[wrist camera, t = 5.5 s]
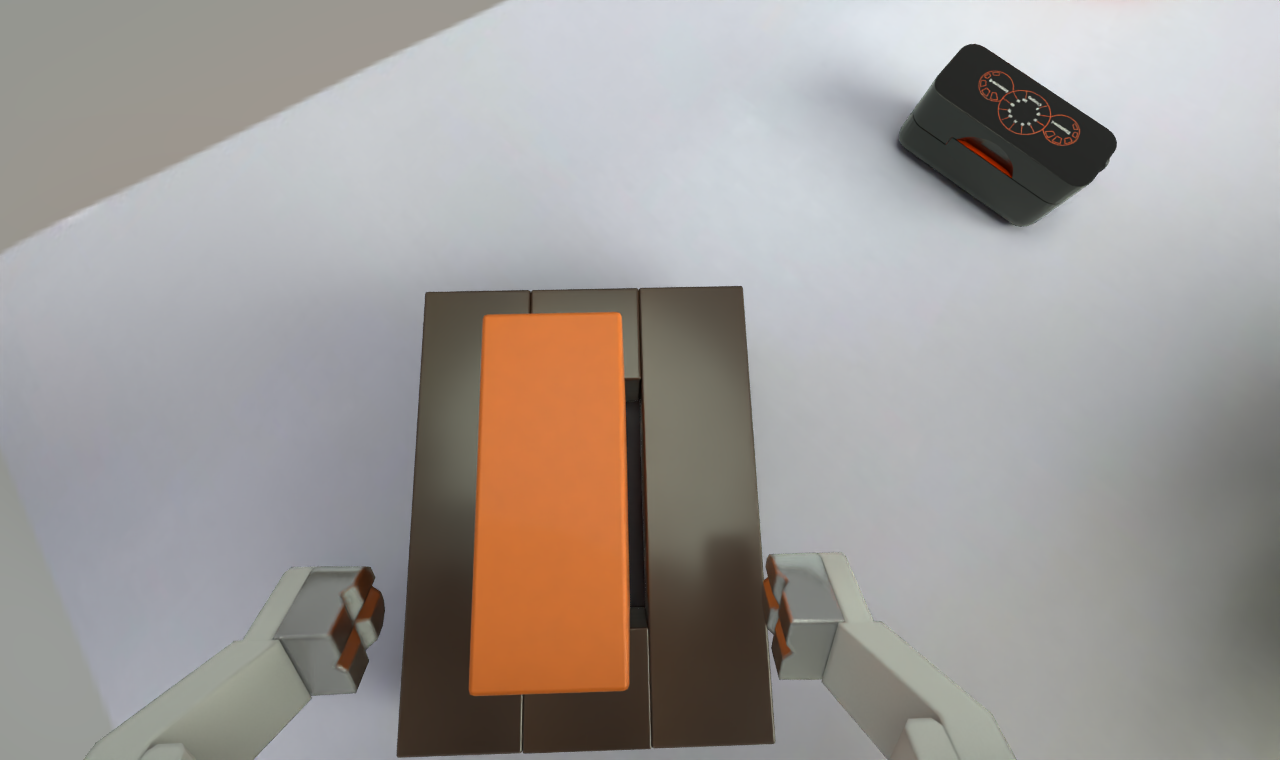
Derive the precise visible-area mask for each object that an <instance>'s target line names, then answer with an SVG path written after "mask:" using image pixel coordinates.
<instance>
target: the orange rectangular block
mask: <svg viewBox="0 0 1280 760" xmlns="http://www.w3.org/2000/svg"><path fill="white" fill-rule="evenodd" d="M629 653H630V573H629V526H628V480H627V433H626V402H625V379H624V356H623V333H622V316H621V314H620V313H618V312H591V313H540V314H489V315H485V316H484V317H483V323H482V349H481V376H480V402H479V428H478V455H477V481H476V508H475V534H474V561H473V587H472V613H471V640H470V666H469V693H470V695H473V696H494V695H523V694H552V693H581V692H610V691H624V690H626V689H628V687H629Z"/></svg>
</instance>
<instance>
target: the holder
mask: <svg viewBox="0 0 1280 760" xmlns="http://www.w3.org/2000/svg"><path fill="white" fill-rule="evenodd" d="M591 312H618V313H620V314H621V316H622V333H623V356H624V379H625V402H626V401H639V399H640V433H641V470H642V507H643V544H644V581H645V607H630V653H629V687H628V689H626V690H624V691H610V692H581V693H552V694H523V695H494V696H473V695H470V693H469V666H470V640H471V613H472V587H473V561H474V534H475V508H476V481H477V455H478V428H479V402H480V376H481V349H482V323H483V317H484V316H485V315H489V314H540V313H591ZM763 581H764V575H763V561H762V547H761V533H760V519H759V505H758V491H757V478H756V464H755V450H754V436H753V422H752V408H751V394H750V381H749V367H748V353H747V339H746V325H745V311H744V297H743V288H742V286H720V287H666V288H640V289H639V290H638V289H637V288H622V289H568V290H533V291H532V292H530V291H529V290H511V291H457V292H426V294H425V307H424V323H423V339H422V355H421V371H420V387H419V403H418V419H417V435H416V451H415V467H414V483H413V499H412V515H411V531H410V547H409V563H408V579H407V595H406V611H405V627H404V643H403V659H402V675H401V691H400V707H399V723H398V739H397V757H399V758H402V757H430V756H457V755H484V754H511V753H521V752H522V751H523V753H524V754H526V753H553V752H580V751H607V750H634V749H651V747H653V748H678V747H706V746H733V745H760V744H774V743H775V727H774V713H773V699H772V686H771V672H770V658H769V644H768V630H767V628H766V624H765V619H764V614H763V608H762V587H763Z"/></svg>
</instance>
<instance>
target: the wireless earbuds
mask: <svg viewBox="0 0 1280 760" xmlns="http://www.w3.org/2000/svg"><path fill="white" fill-rule="evenodd" d="M899 140H900V143H901V145H902V146H903V147H904V148H905V149H907V150H908V151H910V152H911V153H912V154H914V155H915V156H917V157H918V158H920V159H921V160H922V161H924V162H925V163H927V164H928V165H929V166H931V167H932V168H934V169H935V170H936V171H938V172H939V173H941V174H942V175H944V176H945V177H946V178H948V179H949V180H951V181H952V182H953V183H955V184H956V185H958V186H959V187H960V188H962V189H963V190H965V191H966V192H968V193H969V194H970V195H972V196H973V197H975V198H976V199H977V200H979V201H980V202H982V203H983V204H984V205H986V206H987V207H989V208H990V209H992V210H993V211H994V212H996V213H997V214H999V215H1000V216H1001V217H1003V218H1004V219H1006V220H1007V221H1008V222H1010V223H1011V224H1013V225H1015V226H1020V227H1022V226H1028V225H1031V224H1033V223H1035V222H1037V221H1038V220H1040V219H1041V218H1042V217H1044V216H1045V215H1047V214H1048V213H1049V212H1051V211H1052V210H1054V209H1055V208H1056V207H1058V206H1059V205H1061V204H1062V203H1063V202H1065V201H1066V200H1068V199H1069V198H1070V197H1072V196H1073V195H1075V194H1076V193H1077V192H1079V191H1080V190H1082V189H1083V188H1084V187H1086V186H1087V185H1089V184H1090V183H1091V182H1092V181H1093V179H1094V178H1095V177H1096V175H1097V174H1098V173H1099V172H1101V171H1102V170H1103V169H1105V168H1106V167H1107V165H1108V164H1109V160H1110V157H1111V156H1112V154H1113V153H1114V151H1115V149H1116V147H1117V142H1116V138H1115V136H1114V135H1113V133H1112V132H1111V131H1109V130H1108V129H1107V128H1105V127H1104V126H1102V125H1101V124H1099V123H1098V122H1096V121H1095V120H1093V119H1092V118H1090V117H1089V116H1087V115H1086V114H1084V113H1083V112H1081V111H1080V110H1078V109H1077V108H1075V107H1074V106H1072V105H1071V104H1069V103H1068V102H1066V101H1065V100H1063V99H1062V98H1060V97H1059V96H1057V95H1056V94H1054V93H1053V92H1051V91H1050V90H1048V89H1047V88H1045V87H1044V86H1042V85H1041V84H1039V83H1038V82H1036V81H1035V80H1033V79H1032V78H1030V77H1029V76H1027V75H1026V74H1024V73H1023V72H1021V71H1020V70H1018V69H1017V68H1015V67H1014V66H1012V65H1011V64H1009V63H1008V62H1006V61H1004V60H1003V59H1001V58H1000V57H998V56H997V55H995V54H994V53H992V52H991V51H989V50H988V49H986V48H985V47H983V46H981V45H977V44H969V45H967V46H964V47H963V48H962V49H961V50H960V51H959V52H958V53H957V54H956V55H955V56H954V58H953V59H952V60H951V61H950V62H949V63H948V65H947V66H946V67H945V68H944V69H943V70H942V71H941V73H940V74H939V75H938V76H937V77H936V79H935V80H934V82H933V83H932V85H931V86H930V87H929V89H928V90H927V92H926V93H925V95H924V96H923V97H922V99H921V100H920V102H919V103H918V104H917V106H916V107H915V109H914V110H913V112H912V113H911V114H910V116H909V117H908V119H907V120H906V121H905V123H904V124H903V126H902V128H901V130H900V133H899ZM1106 163H1107V164H1106Z"/></svg>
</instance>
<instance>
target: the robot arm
mask: <svg viewBox="0 0 1280 760" xmlns="http://www.w3.org/2000/svg"><path fill="white" fill-rule="evenodd" d="M766 570H767V574H768V577H767V578H766V579H765V580H764V581H763V587H762V608H763V614H764V619H765V624H766V628H767V629H768V630H769V631H770V632H771V633H772V634H773V635H774V636H773V642H772V648H771V649H772V653H773V657H774V661H775V665H776V669H777V673H778V676H779V680H819V679H822V683H823V684H824V685H825V686H826V687H827V689H828V690H829V691H830V692H831V693H832V695H833V696H834V697H835V698H836V699H837V700H838V702H839V703H840V704H841V705H842V706H843V707H844V709H845V710H846V711H847V712H848V713H849V715H850V716H851V717H852V718H853V719H854V720H855V722H856V723H857V724H858V725H859V726H860V727H861V729H862V730H863V731H864V732H865V733H866V735H867V736H868V737H869V738H870V739H871V740H872V742H873V743H874V744H875V745H876V746H877V748H878V749H879V750H880V751H881V752H882V753H883V755H884V756H885V757H886V758H887V759H888V760H1016V758H1015V756H1014V754H1013V752H1012V750H1011V749H1010V747H1009V745H1008V743H1007V741H1006V739H1005V737H1004V736H1003V734H1002V732H1001V730H1000V728H999V726H998V724H997V723H996V721H995V719H994V717H993V715H992V714H991V713H990V712H989V711H988V710H986V709H985V708H984V707H983V706H982V705H980V704H979V703H978V702H977V701H976V700H974V699H973V698H972V697H971V696H970V695H968V694H967V693H966V692H965V691H964V690H962V689H961V688H960V687H959V686H958V685H957V684H955V683H954V682H953V681H952V680H951V679H949V678H948V677H947V676H946V675H945V674H943V673H942V672H941V671H940V670H939V669H937V668H936V667H935V666H934V665H933V664H931V663H930V662H929V661H928V660H927V659H925V658H924V657H923V656H922V655H921V654H919V653H918V652H917V651H916V650H915V649H914V648H912V647H911V646H910V645H909V644H908V643H906V642H905V641H904V640H903V639H902V638H900V637H899V636H898V635H897V634H896V633H894V632H893V631H892V630H891V629H890V628H888V627H887V626H886V625H885V624H884V623H882V622H879V621H873V618H872V616H871V614H870V611H869V609H868V607H867V604H866V602H865V600H864V598H863V595H862V593H861V591H860V588H859V586H858V584H857V581H856V579H855V577H854V574H853V572H852V570H851V567H850V565H849V563H848V561H847V558H846V556H845V555H844V554H843V553H842V552H835V553H793V554H769V556H768V558H767V561H766ZM374 580H375V576H374V573H373V571H372V569H371V567H366V566H320V567H291V568H290V569H289V570H288V571H286V572H285V573H284V574H283V576H282V577H281V579H280V581H279V582H278V584H277V585H276V587H275V589H274V590H273V592H272V593H271V595H270V597H269V598H268V600H267V601H266V603H265V605H264V606H263V608H262V609H261V611H260V613H259V614H258V616H257V618H256V619H255V621H254V622H253V624H252V626H251V627H250V629H249V630H248V632H247V634H246V635H245V637H244V638H243V640H240V641H234V642H232V643H231V644H230V645H228V646H227V647H225V648H224V649H223V650H221V651H220V652H219V653H217V654H216V655H215V656H213V657H212V658H211V659H209V660H208V661H206V662H205V663H204V664H202V665H201V666H200V667H198V668H197V669H196V670H194V671H193V672H192V673H190V674H189V675H187V676H186V677H185V678H183V679H182V680H181V681H179V682H178V683H177V684H175V685H174V686H173V687H171V688H170V689H168V690H167V691H166V692H164V693H163V694H162V695H160V696H159V697H158V698H156V699H155V700H154V701H152V702H151V703H149V704H148V705H147V706H145V707H144V708H143V709H141V710H140V711H139V712H137V713H136V714H134V715H133V716H132V717H130V718H129V719H128V720H126V721H125V722H124V723H122V724H121V725H120V726H118V727H117V728H115V729H114V730H113V731H111V732H110V733H109V734H107V735H106V736H105V737H103V738H102V739H101V740H99V741H98V742H96V743H95V745H94V746H93V748H92V749H91V750H90V751H89V753H88V754H87V755H86V757H85V758H84V760H253V759H254V758H255V757H256V756H257V755H258V754H259V753H260V752H261V751H262V750H263V749H264V748H265V747H266V746H267V745H268V744H269V743H270V742H271V741H272V740H273V739H274V737H275V736H276V735H277V734H278V733H279V732H280V731H281V730H282V729H283V728H284V727H285V726H286V725H287V724H288V723H289V722H290V721H291V720H292V719H293V718H294V717H295V716H296V714H297V713H298V712H299V711H300V710H301V709H302V708H303V707H304V706H305V705H306V704H307V703H308V702H309V701H310V700H311V699H312V697H311V696H317V695H334V694H351V693H356V692H357V689H358V687H359V684H360V682H361V679H362V677H363V674H364V672H365V669H366V667H367V664H368V662H369V659H368V656H367V653H366V651H365V650H366V649H367V648H368V647H370V646H371V645H372V644H373V643H374V642H375V641H376V640H377V639H378V637H379V634H380V631H381V629H382V626H383V620H384V613H385V607H384V599H383V596H382V594H381V592H380V591H379V590H377V589H376V588H374V587H373V586H372V584H373V582H374Z"/></svg>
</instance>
